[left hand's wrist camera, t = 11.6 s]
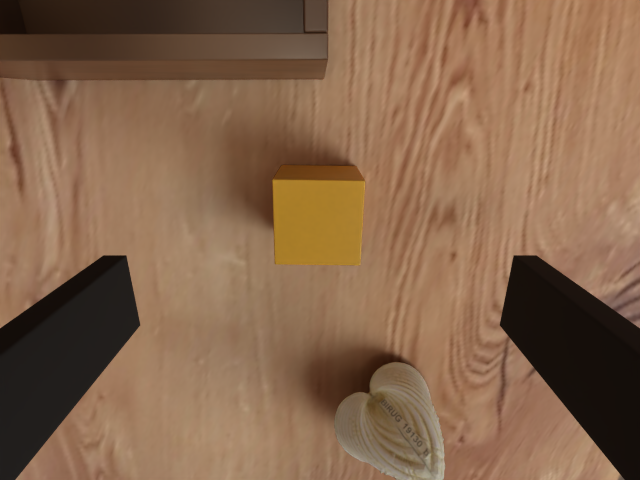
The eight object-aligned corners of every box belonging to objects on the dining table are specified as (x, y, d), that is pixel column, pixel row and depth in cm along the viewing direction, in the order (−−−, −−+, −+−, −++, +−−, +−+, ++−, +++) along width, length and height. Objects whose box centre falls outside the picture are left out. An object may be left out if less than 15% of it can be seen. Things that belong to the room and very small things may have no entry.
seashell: (413, 345, 25) (495, 449, 23) (389, 348, 33) (449, 426, 31) (319, 422, 24) (399, 541, 22) (318, 406, 32) (377, 492, 30)
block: (356, 165, 24) (365, 180, 19) (353, 236, 25) (360, 265, 21) (281, 164, 24) (272, 179, 19) (282, 235, 25) (274, 264, 21)
